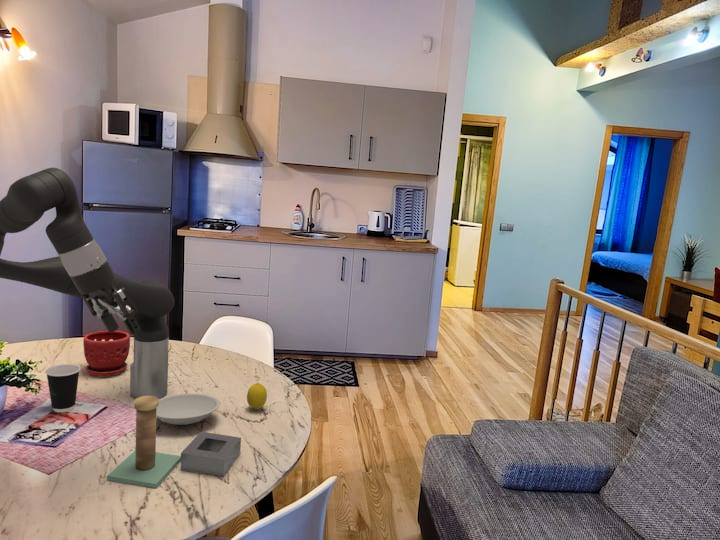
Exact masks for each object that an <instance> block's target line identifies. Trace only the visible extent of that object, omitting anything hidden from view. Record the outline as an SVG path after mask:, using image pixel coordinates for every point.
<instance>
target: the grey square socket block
mask: <svg viewBox="0 0 720 540" xmlns="http://www.w3.org/2000/svg"><path fill="white" fill-rule="evenodd" d="M241 444H242V437H239V436H233V435H227V434H220V433H218V434H217V433H213V432H212V433H211V432H207V431H200V432H199V433H198V434H197V435H196V436H195V438H194V439H193V440H192V441H191V442H189V444H188V445H187V446H186V447H185V448H184V449H183V450H182V451H181V452H180V456H181V462H180V470H181V471H185V472H187V471H188V472H192V473H198V474H204V475H211V476H216V477H217V476H218V477H225V475H226V474H227V473H228V471H229V470H230V468H231V467H232V466H233V464H234V463H235V461H236V460H237V459H238V457H239V456H240V454H241V450H242V449H241V447H242V446H241Z"/></svg>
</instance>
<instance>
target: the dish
mask: <svg viewBox="0 0 720 540" xmlns="http://www.w3.org/2000/svg"><path fill="white" fill-rule="evenodd" d="M220 405H221V401H220V400H219V399H218V398H217V397H216V396H213V395H209V394H204V393H178V394H173V395H168V396H167V395H166V396H164V397H162V398H159V405H158V407H157V408H156V418H158V419H159V420H160V421H162V422H163V423H167V424H170V425H177V426H179V425H180V426H181V425H191V424H194V423H198V422H200V421H203V420H204V419H206V418H208V417H209V416H211V414H212V413H214V412H215V411H217V410H218V409H219V407H220Z"/></svg>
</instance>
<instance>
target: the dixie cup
mask: <svg viewBox="0 0 720 540" xmlns="http://www.w3.org/2000/svg"><path fill="white" fill-rule="evenodd" d="M80 370H81V366H79V365H78V364H72V363H62V364H55V365H52V366H50V367H48V368H47V369H45V374H46V379H47V384H48V391H49V398H50V404H51V408H52V411H53V410H54V411H55V413H59V412H62V413H67V412H70V411H72V410H74V408H75V405H76V399H77V392H78V391H77V390H78V383H79V375H80ZM54 411H53V412H54Z"/></svg>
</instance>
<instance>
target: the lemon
mask: <svg viewBox="0 0 720 540" xmlns="http://www.w3.org/2000/svg"><path fill="white" fill-rule="evenodd" d="M267 392H268V391H267V388H266V387H265V386H264V385H263V384H261V383H259V382H256V383H254V384H252V385H251V386H250V387H249V388H248V390H247V394H246V401H247V403H248V405H249V407H250V408H253V409H254V410H258V409H261V408H262V407H263V406H265V404H266V402H267V399H268V394H267Z"/></svg>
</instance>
